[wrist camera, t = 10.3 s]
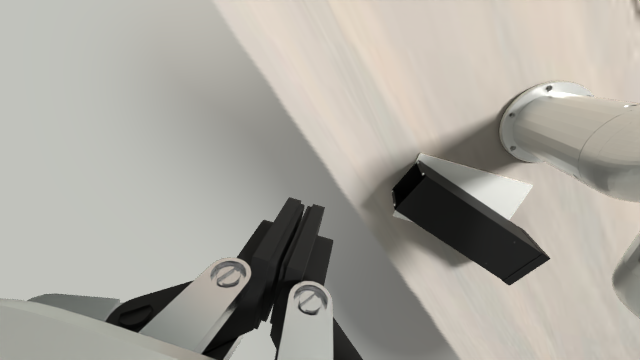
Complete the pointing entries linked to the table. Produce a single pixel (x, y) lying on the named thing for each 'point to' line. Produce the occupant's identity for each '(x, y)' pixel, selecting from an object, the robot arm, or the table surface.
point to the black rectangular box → (466, 224)
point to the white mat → (480, 185)
